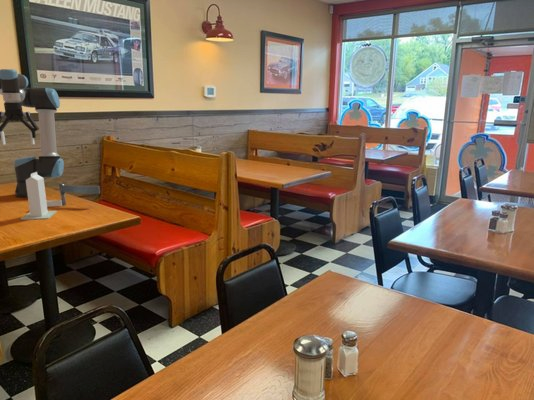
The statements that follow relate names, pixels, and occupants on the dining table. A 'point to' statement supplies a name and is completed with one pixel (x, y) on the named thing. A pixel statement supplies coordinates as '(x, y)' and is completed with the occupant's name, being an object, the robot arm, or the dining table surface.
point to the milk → (36, 195)
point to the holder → (57, 203)
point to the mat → (46, 216)
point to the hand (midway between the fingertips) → (18, 144)
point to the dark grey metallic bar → (79, 189)
